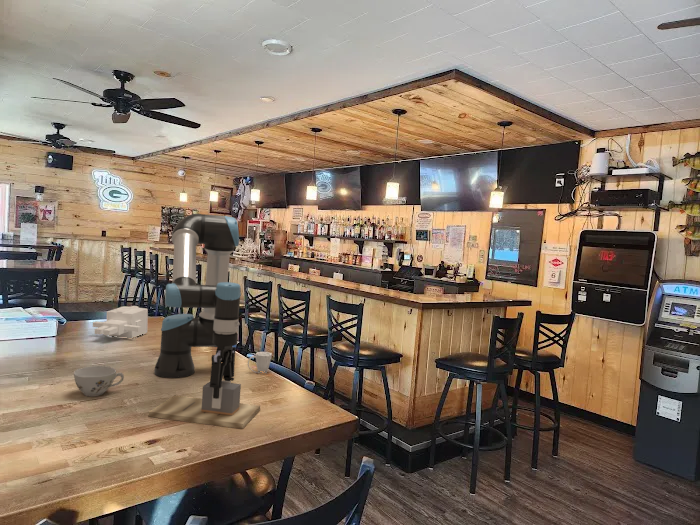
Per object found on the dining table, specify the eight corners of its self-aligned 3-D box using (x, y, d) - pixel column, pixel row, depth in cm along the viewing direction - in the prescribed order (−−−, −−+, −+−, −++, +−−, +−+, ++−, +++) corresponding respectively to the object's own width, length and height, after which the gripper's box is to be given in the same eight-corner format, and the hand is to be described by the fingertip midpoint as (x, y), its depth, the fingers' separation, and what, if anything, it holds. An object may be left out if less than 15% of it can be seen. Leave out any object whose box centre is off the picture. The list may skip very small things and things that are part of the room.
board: (148, 416, 141) (148, 411, 141) (174, 399, 157) (174, 395, 157) (242, 428, 137) (243, 423, 137) (260, 410, 153) (260, 405, 153)
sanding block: (201, 411, 144) (202, 386, 144) (209, 404, 150) (211, 380, 150) (232, 415, 143) (233, 389, 142) (239, 408, 149) (240, 384, 148)
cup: (272, 374, 194) (274, 355, 194) (248, 375, 190) (250, 356, 190) (268, 369, 201) (270, 351, 201) (245, 370, 197) (246, 352, 197)
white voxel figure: (78, 344, 226) (115, 330, 254) (125, 349, 223) (157, 334, 250) (78, 314, 224) (115, 303, 252) (125, 319, 221) (158, 307, 249)
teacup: (71, 401, 148) (72, 377, 148) (73, 389, 159) (74, 366, 159) (123, 397, 155) (124, 374, 155) (122, 386, 166) (123, 364, 166)
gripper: (224, 338, 136) (219, 416, 136) (247, 327, 154) (243, 396, 155) (200, 336, 136) (195, 413, 137) (226, 325, 155) (221, 393, 156)
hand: (220, 404), depth 146 cm, fingers closed on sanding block, 6 cm apart
